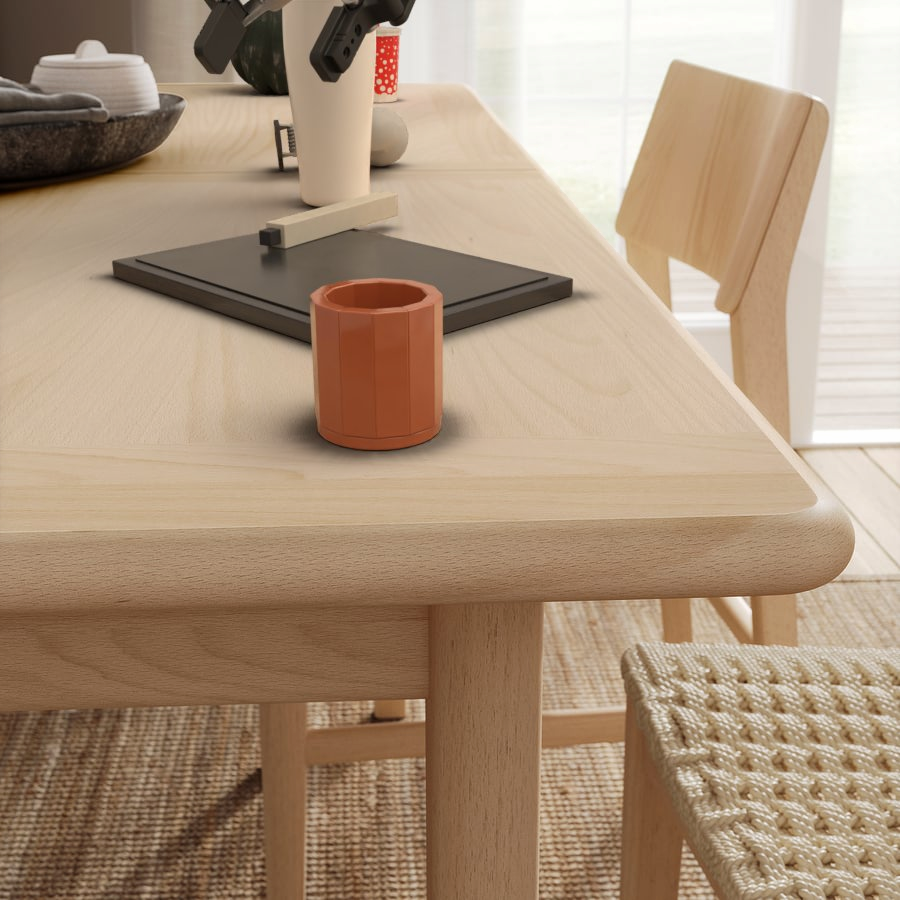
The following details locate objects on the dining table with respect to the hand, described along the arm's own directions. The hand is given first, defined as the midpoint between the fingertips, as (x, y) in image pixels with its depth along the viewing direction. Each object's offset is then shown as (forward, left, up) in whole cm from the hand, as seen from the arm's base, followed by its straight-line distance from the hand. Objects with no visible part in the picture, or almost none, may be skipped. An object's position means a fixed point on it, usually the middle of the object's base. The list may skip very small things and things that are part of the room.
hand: (262, 68), depth 67 cm
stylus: (0, 0, -10) cm, 10 cm away
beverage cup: (-62, +65, -12) cm, 91 cm away
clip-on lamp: (-26, +28, -12) cm, 40 cm away
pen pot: (+24, -13, -12) cm, 30 cm away
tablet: (+6, 0, -12) cm, 13 cm away
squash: (-79, +63, -12) cm, 102 cm away
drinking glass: (-13, +16, -12) cm, 24 cm away
